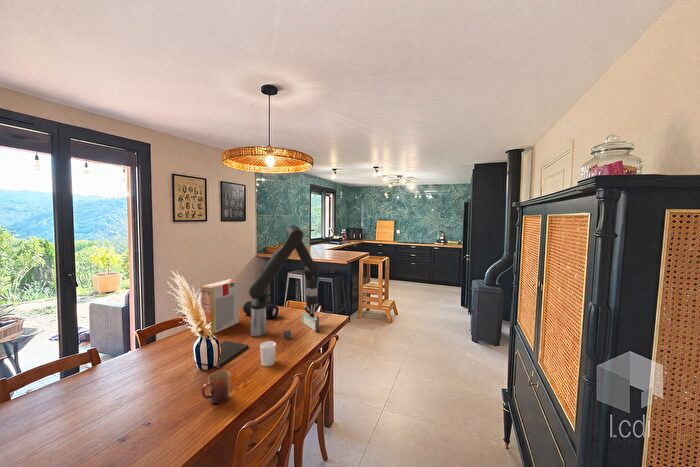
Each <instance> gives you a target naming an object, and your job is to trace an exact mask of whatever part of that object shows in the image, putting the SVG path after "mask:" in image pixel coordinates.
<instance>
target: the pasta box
mask: <svg viewBox="0 0 700 467" xmlns="http://www.w3.org/2000/svg"><path fill="white" fill-rule="evenodd" d="M239 282H240V280H238V279H232V278H229V279H225V280H221V281H217V282H212V283H209V284H204V285H201V287H200V288H201V308H202V307H203V309H204V312H205V315H206V319H207V322H212V323H211V331H212V333H213V334H212V335H214V334H216V333H218V332H221V331H223V330H225V329H227V328H230V327H232V326H234V325H236V324H239V323H240V301H239V300H240V294H239V292H240V289H239V287H240V286H239V285H240V284H239Z"/></svg>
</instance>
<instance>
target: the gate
mask: <svg viewBox="0 0 700 467" xmlns="http://www.w3.org/2000/svg"><path fill="white" fill-rule="evenodd" d="M315 319H316V318H315V317H314V318H313V317H311V316H310V314H309V313H307V312H306V311H302V312H301V323H302V324H304V325H306V326H308V327H309V328H310V329H311V330H313V331H315Z"/></svg>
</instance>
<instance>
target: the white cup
mask: <svg viewBox="0 0 700 467" xmlns="http://www.w3.org/2000/svg"><path fill="white" fill-rule="evenodd" d="M276 347H277V343H276V342H275V341H273V340H267V341H264V342H261V343H260V344H259V350H260V362H261V366H262V367H271V366H273V365H274V364H275V361H276V359H275V358H276V350H277V348H276Z"/></svg>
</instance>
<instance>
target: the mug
mask: <svg viewBox="0 0 700 467" xmlns="http://www.w3.org/2000/svg"><path fill="white" fill-rule="evenodd" d="M231 375H232V373H231V371H229V370H227V369H222V370H216V371H214V372H212V373H210V374H209V375H208V376H207V382H206V383H205V384H203V385H202V386H201V389H200V394H201V396H202V398H203V399H206V400H208V399H209V402H210V403H211V402H212V404H213V403H220V404H223V403H225V402H226V401H227V400H228V399H229V397H230V379H231ZM207 387H209V394H207V395H206V393H205V390H206V388H207ZM224 401H225V402H224ZM222 402H223V403H222Z"/></svg>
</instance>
